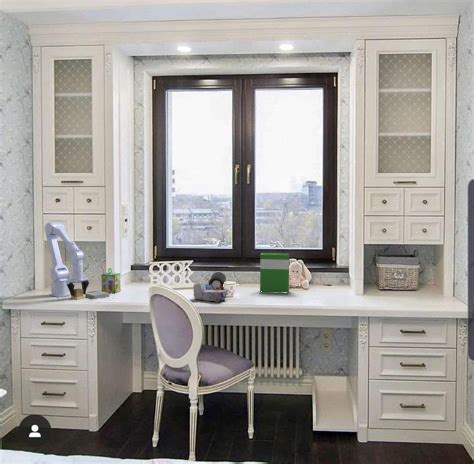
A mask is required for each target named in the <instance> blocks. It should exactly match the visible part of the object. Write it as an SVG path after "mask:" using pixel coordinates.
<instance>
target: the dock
mask: <svg viewBox="0 0 474 464" xmlns="http://www.w3.org/2000/svg"><path fill="white" fill-rule="evenodd" d="M84 296H85V298H89V299H93V300H97V299H98V300H99V299H102V298H109V297H110V293H105V292H102V290H99V291H92V292H86V293H85V294H84Z"/></svg>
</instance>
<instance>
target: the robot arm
mask: <svg viewBox="0 0 474 464" xmlns="http://www.w3.org/2000/svg"><path fill="white" fill-rule="evenodd" d="M44 232H45V236H46V241H47V245H48V250H49V253H50V258H51V261H52V265H53V266H52V267H51V268H50V278H51V281H52V282H51V289H50V291H51V292H50V294H49V296H53V297H57V298H59V297H60V298H61V297H67V296H70V297H71V296H74V289H75V284H78V283H81V289H83V295H85V293H87V292H86V291H87V288H88V286H89V284H90V280H91V279H90V277H85V278H84V269H83V267H84V265H83V263H84V262H83V261H84V260H85V258H86V257H85V255H86V253H85V252H84V251H83V250H81V249H80V248H79V247H78V245H77V244H76V242H75V241H74V240H71V238H70V237H69V236H68V234H67V231H66V226H65V224H64V223H63V222H61V221H58V222H57V221H55V222H54V221H53V222H47V223H45V225H44ZM58 237H60V240H61V241H63V243H64V244H65V245H64V248H65V249H66V250H67V253H69V255H70V256H69V258H70V261H71V264H72V279H69V278H70V271H69V270H68V267H67V265H66V264H64V263H63V260H62V256H61V252H60V247H59V244H58ZM67 288H68V289H67ZM68 290H69V294H68V293H67V292H68Z"/></svg>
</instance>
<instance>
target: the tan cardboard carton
mask: <svg viewBox="0 0 474 464" xmlns="http://www.w3.org/2000/svg"><path fill="white" fill-rule="evenodd" d="M70 298H71V299H72V300H77V301H80V300H85V299H86V297H85V295H84V294H83V289H82V288H74V296H71V295H70Z"/></svg>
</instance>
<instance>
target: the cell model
mask: <svg viewBox="0 0 474 464" xmlns="http://www.w3.org/2000/svg"><path fill="white" fill-rule="evenodd" d="M208 284H209V282H207V281H199V282H196V283H194V284H193V288H192V289H193V296H194V300H199V301H204V302H208V301H215V302H214V303H219V301H221V302H223V301H224V300H225V299H226V298H227V299H228V296H227V295H229V293H228V292H229V291H230V289H227V288H225V286H224V287H223V286H221V289H219V287H216V288H214V287H213V285H208ZM222 300H223V301H222Z"/></svg>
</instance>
